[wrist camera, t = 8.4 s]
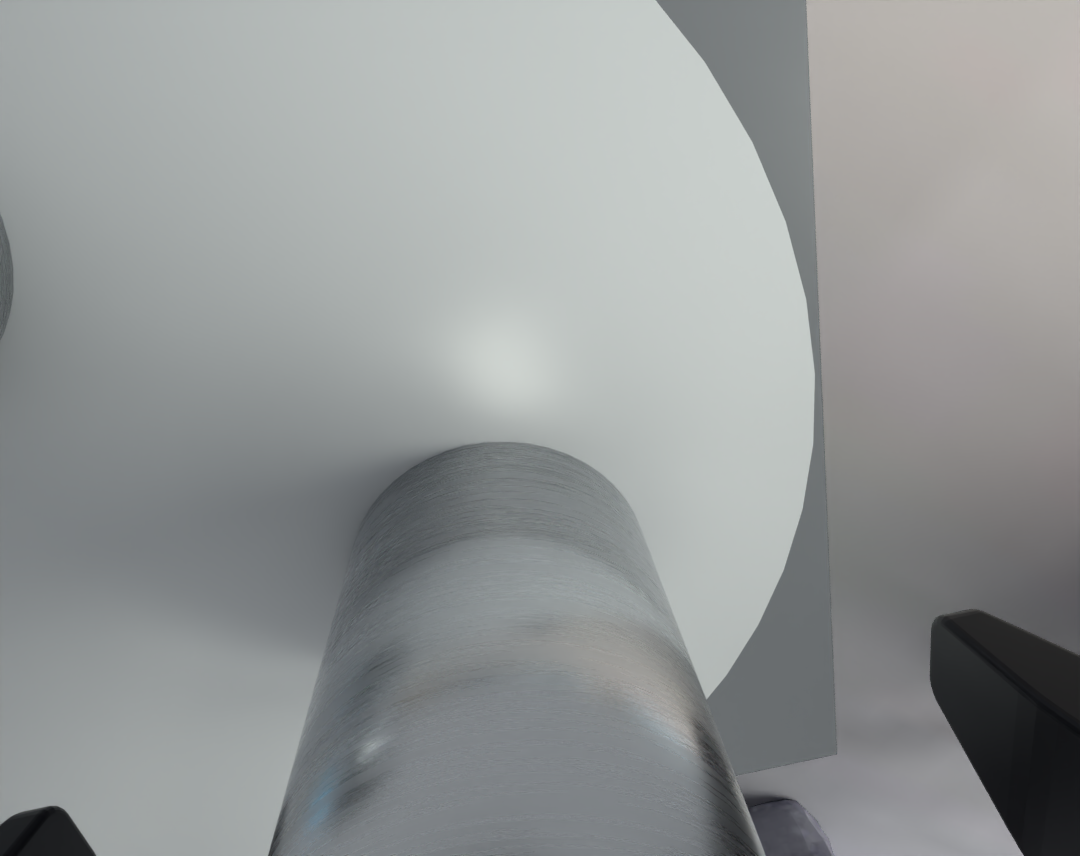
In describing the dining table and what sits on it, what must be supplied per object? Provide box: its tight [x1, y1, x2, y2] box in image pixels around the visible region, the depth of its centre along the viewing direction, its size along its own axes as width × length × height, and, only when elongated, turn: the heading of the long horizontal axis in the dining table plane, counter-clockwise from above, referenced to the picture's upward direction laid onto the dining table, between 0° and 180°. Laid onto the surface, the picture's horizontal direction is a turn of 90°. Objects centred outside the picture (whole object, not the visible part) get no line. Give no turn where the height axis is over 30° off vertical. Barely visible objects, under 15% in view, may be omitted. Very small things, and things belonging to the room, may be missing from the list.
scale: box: [0, 0, 837, 856], centre depth 10 cm, size 16×17×3 cm
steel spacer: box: [268, 442, 766, 856], centre depth 7 cm, size 4×4×6 cm
